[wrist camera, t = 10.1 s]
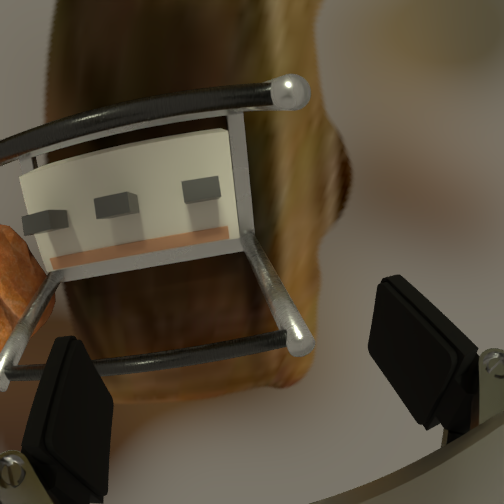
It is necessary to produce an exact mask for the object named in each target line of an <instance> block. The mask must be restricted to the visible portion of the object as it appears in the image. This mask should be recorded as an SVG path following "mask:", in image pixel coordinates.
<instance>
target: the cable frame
mask: <svg viewBox="0 0 504 504" xmlns="http://www.w3.org/2000/svg"><path fill="white" fill-rule="evenodd" d="M310 97H311V90H310V86H309V84H308V82H307V81H306V80H305V79H304V78H303V77H301V76H299V75H296V74H287V75H284V76H281V77H278V78H275V79H272V80H269V81H266V82H264V83H253V84H240V85H228V86H219V87H210V88H202V89H194V90H187V91H180V92H174V93H168V94H162V95H156V96H151V97H146V98H141V99H136V100H131V101H126V102H122V103H118V104H113V105H109V106H105V107H101V108H97V109H93V110H90V111H86V112H82V113H79V114H75V115H72V116H68V117H65V118H62V119H59V120H55V121H52V122H49V123H46V124H43V125H40V126H37V127H35V128H32V129H29V130H27V131H23V132H21V133H18V134H16V135H13V136H10V137H8V138H5V139H3V140H0V166H3V165H5V164H7V163H10V162H12V161H15V160H18V159H19V160H20V165H21V170H22V175H24V174H26V173H28V172H30V171H32V170H34V169H37V168H38V166H37V161H36V156H38V155H41V154H44V153H47V152H51V151H54V150H57V149H61V148H64V147H68V146H71V145H75V144H78V143H82V142H86V141H90V140H94V139H98V138H102V137H106V136H110V135H114V134H119V133H123V132H128V131H133V130H137V129H142V128H148V127H153V126H158V125H164V124H169V123H175V122H182V121H188V120H195V119H202V118H209V117H217V116H226V121H227V131H228V135H229V144H230V153H231V162H232V172H233V181H234V190H235V199H236V208H237V217H238V226H239V234H240V238H237V239H231V240H225V241H219V242H213V243H207V244H201V245H195V246H189V247H183V248H178V249H172V250H166V251H160V252H155V253H149V254H143V255H138V256H132V257H127V258H121V259H115V260H110V261H104V262H99V263H94V264H88V265H83V266H77V267H72V268H67V269H61V270H56V271H51V272H49V274H48V275H47V276H46V278H45V279H44V281H43V282H42V284H41V285H40V287H39V288H38V290H37V292H36V293H35V295H34V296H33V298H32V299H31V301H30V302H29V304H28V306H27V307H26V309H25V311H24V312H23V314H22V315H21V317H20V319H19V321H18V322H17V324H16V326H15V327H14V329H13V331H12V333H11V334H10V336H9V338H8V340H7V341H6V343H5V345H4V347H3V349H2V351H1V353H0V391H1V392H5V391H6V390H7V388H8V385H9V383H10V381H28V380H29V381H30V380H41V377H42V374H43V371H44V368H45V365H46V364H34V365H18V363H19V360H20V358H21V356H22V354H23V352H24V350H25V347H26V346H27V343H28V341H29V339H30V337H31V335H32V333H33V331H34V330H35V328H36V326H37V324H38V322H39V320H40V318H41V316H42V314H43V312H44V311H45V309H46V307H47V305H48V303H49V301H50V300H51V298H52V296H53V294H54V293H55V291H56V289H57V287H58V286H59V284H60V283H61V282H67V281H73V280H78V279H84V278H90V277H96V276H102V275H107V274H113V273H119V272H125V271H130V270H136V269H142V268H148V267H154V266H159V265H165V264H171V263H177V262H183V261H188V260H194V259H200V258H206V257H212V256H218V255H223V254H229V253H235V252H241V251H244V252H245V254H246V256H247V259H248V261H249V263H250V265H251V268H252V270H253V272H254V274H255V277H256V279H257V281H258V283H259V286H260V288H261V290H262V292H263V295H264V297H265V299H266V301H267V303H268V306H269V308H270V310H271V312H272V315H273V317H274V319H275V321H276V324H277V326H278V328H279V330H278V331H273V332H269V333H264V334H259V335H254V336H249V337H244V338H239V339H234V340H228V341H223V342H217V343H212V344H206V345H200V346H194V347H188V348H182V349H175V350H169V351H162V352H155V353H148V354H140V355H132V356H124V357H116V358H107V359H97V360H92V362H93V364H94V366H95V368H96V370H97V372H98V373H99V375H100V377H101V376H111V375H121V374H131V373H139V372H147V371H155V370H163V369H170V368H177V367H183V366H190V365H196V364H202V363H208V362H214V361H219V360H225V359H230V358H236V357H241V356H246V355H251V354H256V353H260V352H265V351H270V350H274V349H279V348H283V347H287V348H288V350H289V352H290V354H291V355H292V356H295V357H302V356H305V355H307V354H309V353H310V352H311V351H312V350H313V349H314V347H315V340H314V338H313V336H312V334H311V333H310V331H309V329H308V327H307V326H306V324H305V322H304V320H303V319H302V317H301V315H300V313H299V312H298V310H297V308H296V306H295V305H294V303H293V301H292V299H291V298H290V296H289V294H288V292H287V291H286V289H285V287H284V285H283V284H282V282H281V280H280V278H279V277H278V275H277V273H276V271H275V270H274V268H273V266H272V264H271V263H270V261H269V259H268V258H267V256H266V254H265V252H264V251H263V249H262V247H261V245H260V244H259V242H258V240H257V238H256V237H255V231H254V221H253V210H252V200H251V189H250V179H249V168H248V158H247V147H246V137H245V127H244V117H243V111H267V110H299V109H301V108H303V107H305V106H306V105H307V103H308V102H309V100H310Z"/></svg>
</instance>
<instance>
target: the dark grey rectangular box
mask: <svg viewBox="0 0 504 504" xmlns="http://www.w3.org/2000/svg"><path fill="white" fill-rule="evenodd" d="M94 206H95V213H96V219H110V218H115V217H120V216H125V215H130V214H135V213H139V206H138V199H137V195H136V194H133V193H130V192H122V193H117V194H113V195H108V196H103V197H99V198H94Z"/></svg>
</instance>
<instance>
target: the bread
mask: <svg viewBox="0 0 504 504" xmlns="http://www.w3.org/2000/svg"><path fill="white" fill-rule="evenodd" d="M46 276H47V275H46V274H45V272H44V271H43V269H42V268H41V267H40V265H39V264H38V262H37V261H36V259H35V258H34V256H33V255H32V253H31V252H30V250H29V248H28V245H27V244H26V242H25V241H24V240H23V239H22V238H21V237H20V236H19V235H18V234H17V233H16V232H15V231H14V230H13V229H12V228H11V227H10V226H6V225H0V353H1V351H2V349H3V347H4V345H5V343H6V341H7V340H8V338H9V336H10V334H11V333H12V331H13V329H14V327H15V326H16V324H17V322H18V321H19V319H20V317H21V315H22V314H23V312H24V311H25V309H26V307H27V306H28V304H29V302H30V301H31V299H32V298H33V296H34V295H35V293H36V292H37V290H38V288H39V287H40V285H41V284H42V282H43V281H44V279H45V278H46ZM54 304H55V293H54V294H53V296H52V298H51V300H50V301H49V303H48V305H47V307H46V309H45V311H44V312H43V314H42V316H41V318H40V320H39V322H38V324H37V326H36V328H35V330H34V331H33V333H32V335H31V337H32V336H33V335H34V334H35V333H36V332H37V331H38V330H39V329H40V328H41V327H42V326H43V325H44V324H45V323H46V321H47V320H48V318H49V316H50V315H51V313H52V311H53V307H54ZM31 337H30V338H31Z"/></svg>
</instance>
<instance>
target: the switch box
mask: <svg viewBox="0 0 504 504" xmlns="http://www.w3.org/2000/svg"><path fill="white" fill-rule="evenodd" d="M212 176H218V177H219V184H220V191H221V197H220V198H219V199H216V200H209V201H203V202H197V203H191V204H185V203H184V197H183V190H182V183H181V181H187V180H193V179H199V178H206V177H212ZM19 179H20V183H21V188H22V192H23V196H24V200H25V204H26V208H27V212H28V215H30V214H34V213H37V212H41V211H45V210H67V218H68V224H69V227H68V228H64V229H59V230H55V231H51V232H46V233H41V234H34V236H35V239H36V242H37V245H38V248H39V251H40V254H41V257H42V260H43V262H44V266H45V268H46V271H47V272H51V271H56V270H61V269H67V268H72V267H77V266H83V265H88V264H94V263H99V262H104V261H110V260H115V259H121V258H127V257H132V256H138V255H143V254H149V253H155V252H160V251H166V250H172V249H178V248H183V247H189V246H195V245H201V244H207V243H213V242H219V241H225V240H231V239H237V238H240V234H239V226H238V217H237V208H236V199H235V190H234V181H233V172H232V162H231V153H230V144H229V135H228V131H227V130H224V129H221V128H217V129H210V130H203V131H196V132H189V133H183V134H177V135H171V136H165V137H159V138H154V139H149V140H144V141H139V142H134V143H129V144H124V145H120V146H115V147H111V148H106V149H102V150H98V151H94V152H90V153H86V154H82V155H78V156H75V157H71V158H67V159H64V160H60V161H57V162H53V163H50V164H47V165H43V166H41V167H39V168H37V169H34V170H32V171H30V172H28V173H26V174H24V175H22V176H20V177H19ZM122 192H130V193H133V194H136V195H137V199H138V206H139V213H135V214H130V215H125V216H120V217H115V218H110V219H96V213H95V206H94V198H99V197H103V196H108V195H113V194H117V193H122Z"/></svg>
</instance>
